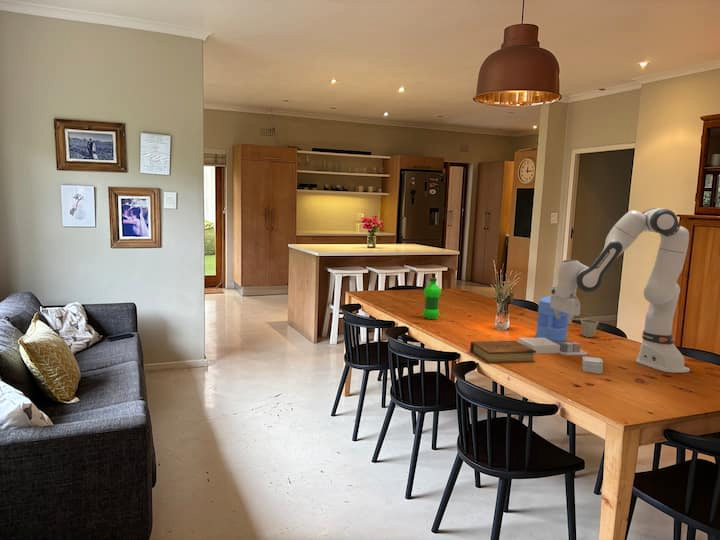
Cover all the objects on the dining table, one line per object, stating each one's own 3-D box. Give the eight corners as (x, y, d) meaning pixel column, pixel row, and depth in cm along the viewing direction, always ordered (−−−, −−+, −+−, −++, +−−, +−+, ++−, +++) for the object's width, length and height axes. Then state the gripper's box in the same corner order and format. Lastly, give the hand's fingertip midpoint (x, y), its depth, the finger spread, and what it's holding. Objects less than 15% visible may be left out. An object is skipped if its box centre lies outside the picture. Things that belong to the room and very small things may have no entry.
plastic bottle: (440, 320, 315) (443, 279, 312) (422, 320, 315) (425, 279, 312) (438, 317, 325) (440, 277, 322) (421, 316, 325) (423, 276, 322)
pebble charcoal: (566, 352, 253) (566, 344, 253) (560, 352, 253) (560, 344, 252) (561, 350, 257) (562, 342, 256) (555, 350, 256) (556, 342, 256)
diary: (513, 351, 255) (514, 340, 254) (534, 363, 237) (535, 350, 236) (469, 352, 249) (470, 340, 249) (488, 364, 231) (489, 351, 230)
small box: (581, 367, 232) (582, 355, 232) (600, 369, 230) (601, 358, 229) (582, 372, 225) (583, 360, 224) (602, 374, 222) (603, 362, 222)
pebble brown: (579, 352, 255) (580, 344, 254) (573, 352, 254) (574, 344, 254) (575, 350, 258) (575, 342, 258) (569, 350, 258) (570, 342, 257)
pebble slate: (572, 352, 254) (573, 344, 254) (566, 352, 253) (567, 344, 253) (568, 350, 258) (569, 342, 257) (562, 350, 257) (563, 342, 256)
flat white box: (559, 354, 251) (560, 345, 251) (532, 354, 248) (533, 345, 248) (543, 346, 265) (544, 337, 264) (518, 346, 262) (518, 337, 261)
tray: (588, 356, 250) (588, 353, 250) (564, 356, 247) (564, 353, 247) (571, 348, 264) (571, 345, 263) (547, 348, 261) (547, 346, 261)
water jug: (539, 334, 292) (543, 284, 288) (569, 338, 284) (573, 287, 280) (532, 339, 278) (537, 287, 275) (563, 344, 270) (568, 291, 267)
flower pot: (599, 339, 286) (600, 323, 285) (580, 337, 288) (582, 322, 287) (595, 335, 295) (596, 320, 294) (577, 333, 297) (578, 318, 296)
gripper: (585, 296, 242) (582, 326, 244) (560, 289, 262) (557, 316, 264) (573, 296, 241) (570, 326, 243) (548, 289, 261) (546, 316, 262)
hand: (563, 321), depth 253 cm, fingers open, 8 cm apart
